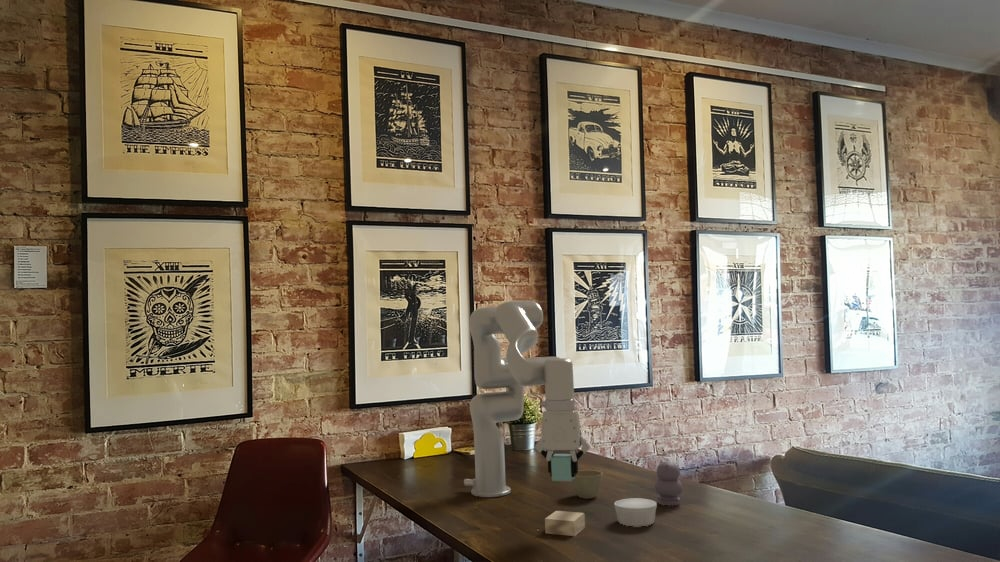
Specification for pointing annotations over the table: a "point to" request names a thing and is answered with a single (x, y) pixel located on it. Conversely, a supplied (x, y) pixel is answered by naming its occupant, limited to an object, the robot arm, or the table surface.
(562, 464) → the block
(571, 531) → the base
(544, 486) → the table surface
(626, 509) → the ramekin
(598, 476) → the flower pot
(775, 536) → the table surface
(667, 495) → the cat figurine
